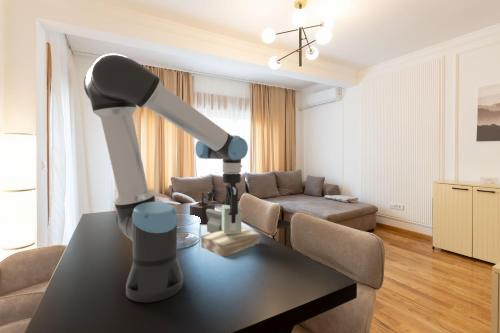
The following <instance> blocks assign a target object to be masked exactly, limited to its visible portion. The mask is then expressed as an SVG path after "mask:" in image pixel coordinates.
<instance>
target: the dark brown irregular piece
mask: <svg viewBox="0 0 500 333" xmlns="http://www.w3.org/2000/svg"><path fill="white" fill-rule="evenodd" d="M200 196H201V201H199V202H197V203H195V204H191V205H189V216H190V215H195V216H198V217H200V219H201V224H200V225H207V222H208V217H207V214H206V210H207V209H213V210H216V208H215V207H216V205H215V204H213V203H212V204H211V203H208V202H212V201H213V198H214V196H215V193H214V192H213V191H208V192H207V193H206V195H205V192H204V191H203V192H201V195H200ZM204 198H205V199H206V201H208V202H206V201H204Z"/></svg>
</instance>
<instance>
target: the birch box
mask: <svg viewBox="0 0 500 333" xmlns="http://www.w3.org/2000/svg"><path fill="white" fill-rule="evenodd" d="M260 236H261V233H259V232H257V231H254V230H253V231H252V230H251V229H247V228H243V227H241V232H237V233H224V232H223V230H221V231H217V232H214V233H211V232H209V233H206V234H202V235H200V238H201V241H200V242H201V243H200V246H201V248H202V249H205V250H207V251H209V252H211V253H214V254H215V255H218V256H219V257H222V258H225V257H228V256H230V255H233V254H235V252H236V253H238V251H239V252H241V251H244V250H246V249H245V248H247V249H249V248H251V247H250V246H252V247H254V246H253V245H255V244H258V243H259V244H260ZM259 244H258V245H259ZM255 246H256V245H255ZM248 247H249V248H248ZM243 249H244V250H243ZM240 250H241V251H240Z"/></svg>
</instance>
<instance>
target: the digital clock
mask: <svg viewBox="0 0 500 333" xmlns="http://www.w3.org/2000/svg"><path fill="white" fill-rule="evenodd" d="M206 214H207V217H208V222H207V224H206V231H207V232H208V233H214V232H217V231H221V230H222V210H221V211H220V210H218V209H217V210H216V209H215V210H213V209H207V210H206Z"/></svg>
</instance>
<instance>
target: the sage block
mask: <svg viewBox="0 0 500 333" xmlns="http://www.w3.org/2000/svg"><path fill="white" fill-rule="evenodd" d="M221 212H222V230H223V232H224V233H237V232H241V228H242V206H240V205H239V204H238V214H237V217H236V231H229V221H230V215H229V213H230V205H226V204H222V205H221Z"/></svg>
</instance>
